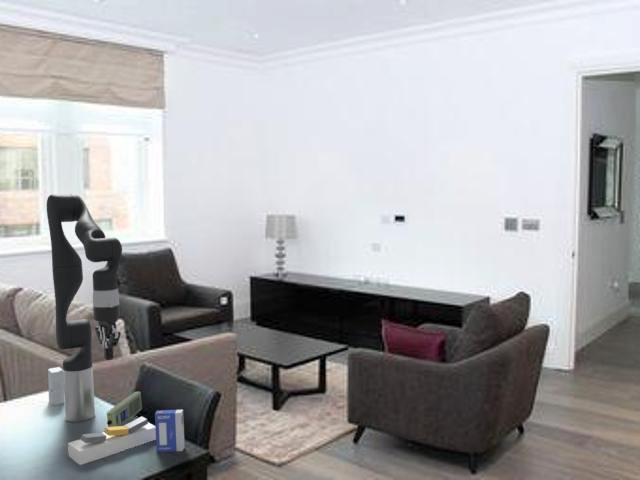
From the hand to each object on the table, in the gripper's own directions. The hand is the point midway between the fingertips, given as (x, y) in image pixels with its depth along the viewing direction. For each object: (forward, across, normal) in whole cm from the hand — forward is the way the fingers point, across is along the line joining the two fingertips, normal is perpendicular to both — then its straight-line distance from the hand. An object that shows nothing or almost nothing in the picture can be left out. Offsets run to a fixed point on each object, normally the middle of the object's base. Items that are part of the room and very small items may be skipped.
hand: (109, 359), depth 192 cm
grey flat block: (+21, +8, -10) cm, 25 cm away
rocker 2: (+21, +8, +4) cm, 23 cm away
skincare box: (+25, -44, 0) cm, 51 cm away
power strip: (+25, +7, -3) cm, 26 cm away
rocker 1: (+21, +8, -3) cm, 23 cm away
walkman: (+25, +20, +8) cm, 33 cm away
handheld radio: (+25, -9, +7) cm, 28 cm away
